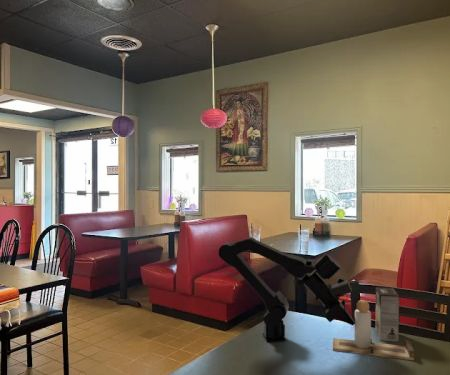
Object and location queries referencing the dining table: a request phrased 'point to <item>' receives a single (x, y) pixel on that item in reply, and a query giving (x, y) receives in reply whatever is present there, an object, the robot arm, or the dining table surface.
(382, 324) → the coffee box
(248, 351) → the dining table surface
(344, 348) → the level stand
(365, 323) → the post
